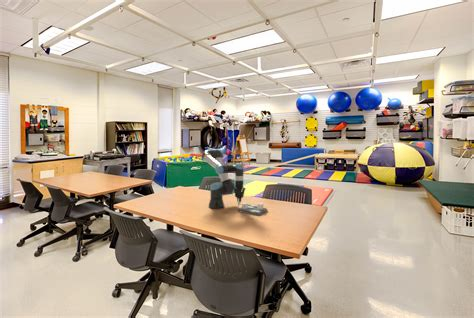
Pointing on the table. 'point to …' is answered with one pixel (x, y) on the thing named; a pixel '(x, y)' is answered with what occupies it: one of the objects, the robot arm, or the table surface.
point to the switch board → (253, 210)
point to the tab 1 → (244, 205)
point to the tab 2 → (260, 206)
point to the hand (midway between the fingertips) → (239, 204)
